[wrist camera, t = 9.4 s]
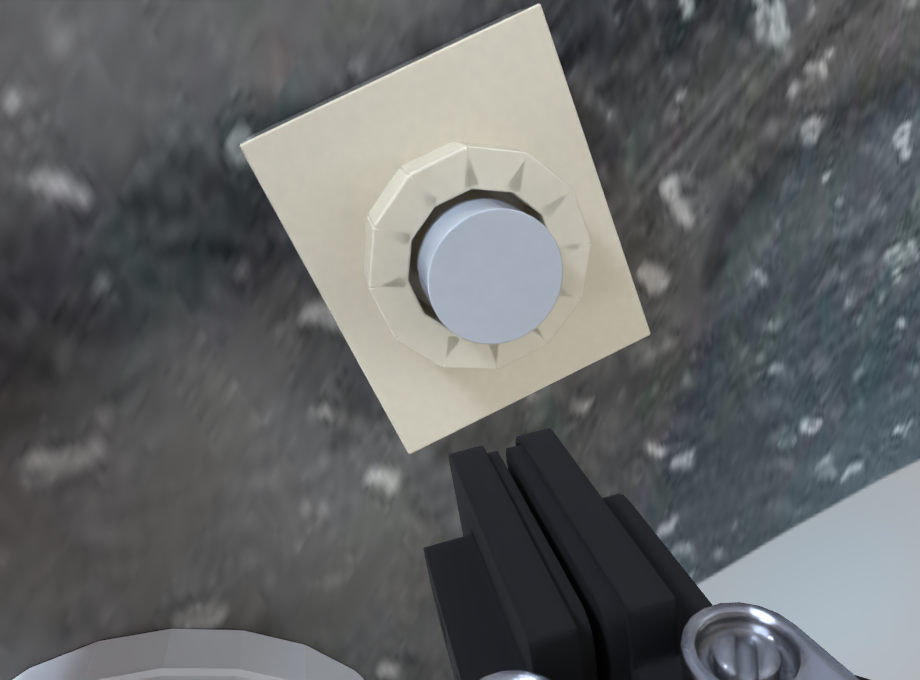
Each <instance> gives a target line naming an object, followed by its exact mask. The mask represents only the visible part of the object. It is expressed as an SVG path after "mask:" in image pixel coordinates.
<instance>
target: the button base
mask: <svg viewBox="0 0 920 680" xmlns="http://www.w3.org/2000/svg"><path fill="white" fill-rule="evenodd" d="M240 149H241V150H242V152H243V154H244V156H245V158H246V159H247V161H248V163H249V165H250V167H251V169H252V170H253V172H254V174H255V176H256V178H257V179H258V181H259V183H260V185H261V187H262V189H263V190H264V192H265V194H266V196H267V198H268V200H269V201H270V203H271V205H272V207H273V209H274V210H275V212H276V214H277V216H278V218H279V220H280V221H281V223H282V225H283V227H284V229H285V230H286V232H287V234H288V236H289V238H290V240H291V241H292V243H293V245H294V247H295V249H296V250H297V252H298V254H299V256H300V258H301V260H302V261H303V263H304V265H305V267H306V269H307V270H308V272H309V274H310V276H311V278H312V280H313V281H314V283H315V285H316V287H317V289H318V290H319V292H320V294H321V296H322V298H323V300H324V301H325V303H326V305H327V307H328V309H329V310H330V312H331V314H332V316H333V318H334V320H335V321H336V323H337V325H338V327H339V329H340V330H341V332H342V334H343V336H344V338H345V340H346V341H347V343H348V345H349V347H350V349H351V350H352V352H353V354H354V356H355V358H356V360H357V361H358V363H359V365H360V367H361V369H362V370H363V372H364V374H365V376H366V378H367V380H368V381H369V383H370V385H371V387H372V389H373V390H374V392H375V394H376V396H377V398H378V400H379V401H380V403H381V405H382V407H383V409H384V410H385V412H386V414H387V416H388V418H389V420H390V421H391V423H392V425H393V427H394V429H395V430H396V432H397V434H398V436H399V438H400V440H401V441H402V443H403V445H404V447H405V449H406V450H407V452H408V453H409V454H411V453H413V452H415V451H417V450H419V449H421V448H423V447H425V446H427V445H430V444H432V443H434V442H436V441H438V440H440V439H442V438H444V437H446V436H448V435H450V434H452V433H454V432H456V431H458V430H460V429H462V428H464V427H466V426H468V425H470V424H472V423H474V422H476V421H478V420H480V419H482V418H484V417H486V416H488V415H490V414H492V413H494V412H496V411H498V410H500V409H502V408H504V407H506V406H508V405H510V404H512V403H514V402H516V401H518V400H520V399H522V398H524V397H526V396H528V395H530V394H532V393H534V392H536V391H538V390H540V389H542V388H544V387H546V386H548V385H550V384H552V383H554V382H556V381H558V380H560V379H562V378H564V377H566V376H568V375H570V374H572V373H574V372H576V371H578V370H580V369H582V368H584V367H586V366H588V365H590V364H592V363H594V362H596V361H598V360H600V359H602V358H604V357H606V356H608V355H610V354H612V353H614V352H616V351H618V350H620V349H622V348H624V347H626V346H628V345H630V344H632V343H634V342H636V341H638V340H640V339H642V338H644V337H646V336H648V335H650V330H649V327H648V324H647V321H646V318H645V315H644V312H643V309H642V306H641V303H640V300H639V297H638V294H637V291H636V288H635V285H634V282H633V279H632V276H631V273H630V270H629V267H628V264H627V261H626V258H625V255H624V252H623V249H622V246H621V243H620V240H619V237H618V234H617V231H616V228H615V225H614V222H613V219H612V216H611V213H610V210H609V207H608V204H607V201H606V198H605V195H604V192H603V189H602V186H601V183H600V180H599V177H598V174H597V171H596V168H595V165H594V162H593V159H592V156H591V153H590V150H589V147H588V144H587V141H586V138H585V135H584V132H583V129H582V126H581V123H580V120H579V117H578V114H577V111H576V108H575V105H574V102H573V99H572V97H571V94H570V91H569V88H568V85H567V82H566V79H565V76H564V73H563V70H562V67H561V64H560V61H559V58H558V55H557V52H556V49H555V46H554V43H553V40H552V37H551V34H550V31H549V28H548V25H547V22H546V19H545V16H544V13H543V10H542V7H541V5H540V4H535V5H533V6H530V7H527V8H524V9H521V10H518V11H515V12H512V13H510V14H508V15H505V16H503V17H501V18H499V19H497V20H495V21H493V22H491V23H488V24H486V25H484V26H482V27H480V28H478V29H476V30H474V31H471V32H469V33H467V34H465V35H463V36H461V37H459V38H457V39H454V40H452V41H450V42H448V43H446V44H444V45H442V46H440V47H438V48H435V49H433V50H431V51H429V52H427V53H425V54H423V55H421V56H418V57H416V58H414V59H412V60H410V61H408V62H406V63H404V64H401V65H399V66H397V67H395V68H393V69H391V70H389V71H387V72H384V73H382V74H380V75H378V76H376V77H374V78H372V79H370V80H367V81H365V82H363V83H361V84H359V85H357V86H355V87H353V88H351V89H348V90H346V91H344V92H342V93H340V94H338V95H336V96H334V97H331V98H329V99H327V100H325V101H323V102H321V103H319V104H317V105H314V106H312V107H310V108H308V109H306V110H304V111H302V112H300V113H297V114H295V115H293V116H291V117H289V118H287V119H285V120H283V121H281V122H278V123H276V124H274V125H272V126H270V127H268V128H266V129H264V130H261V131H259V132H257V133H255V134H253V135H251V136H249V137H247V138H246V139H245V140H244V141H243V142H242V143H241V144H240ZM472 198H494V199H498V200H502V201H505V202H507V203H509V204H511V205H513V206H515V207H517V208H518V209H520V210H522V211H524V212H525V213H527V214H529V215H531V216H532V217H534V218H535V219H537V220H538V221H540V222H541V223H542V224H543V225H544V226H545V227H546V228H547V229H548V230H549V231H550V233H551V234H552V236H553V237H554V239H555V240H556V243H557V245H558V247H559V250H560V253H561V256H562V263H563V279H562V285H561V290H560V293H559V296H558V299H557V301H556V303H555V305H554V307H553V308H552V310H551V311H550V313H549V314H548V316H547V317H546V318H545V319H544V320H543V322H541V323H540V324H539V325H538V326H537V327H536V328H535V329H533V330H532V331H531V332H529V333H528V334H526V335H524V336H522V337H520V338H518V339H516V340H513V341H510V342H506V343H500V344H479V343H475V342H471V341H468V340H465V339H463V338H461V337H459V336H457V335H456V334H454V333H453V332H452V331H450V330H449V329H448V328H447V327H446V326H445V325H444V324H443V323H442V322H441V321H440V319H439V318H438V317H437V315H436V313H435V311H434V310H433V308H432V306H431V305H430V303H429V301H428V299H427V298H426V296H425V294H424V292H423V291H422V288H421V286H420V283H419V279H418V275H417V255H418V249H419V246H420V242H421V240H422V238H423V236H424V233H425V232H426V230H427V228H428V227H429V226H430V224H431V223H432V222H433V220H434V219H435V218H436V217H437V216H438V215H439V214H440V213H442V212H443V211H444V210H446V209H447V208H449V207H451V206H452V205H454V204H456V203H459V202H461V201H464V200H468V199H472Z"/></svg>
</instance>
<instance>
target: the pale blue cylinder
mask: <svg viewBox="0 0 920 680" xmlns="http://www.w3.org/2000/svg"><path fill="white" fill-rule="evenodd" d="M417 275H418V279H419V283H420V286H421V288H422V291H423V292H424V294H425V296H426V298H427V299H428V301H429V303H430V305H431V306H432V308H433V310H434V311H435V313H436V315H437V317H438V318H439V319H440V321H441V322H442V323H443V324H444V325H445V326H446V327H447V328H448V329H449V330H450V331H452V332H453V333H454V334H456V335H457V336H459V337H461V338H463V339H465V340H468V341H471V342H475V343H479V344H500V343H506V342H510V341H513V340H516V339H518V338H520V337H522V336H524V335H526V334H528V333H529V332H531V331H532V330H533V329H535V328H536V327H537V326H538V325H539V324H540V323H541V322H543V320H544V319H545V318H546V317H547V316H548V314H549V313H550V311H551V310H552V308H553V307H554V305H555V303H556V301H557V299H558V296H559V293H560V290H561V285H562V279H563V263H562V256H561V253H560V250H559V247H558V245H557V243H556V240H555V239H554V237H553V236H552V234H551V233H550V231H549V230H548V229H547V228H546V227H545V226H544V225H543V224H542V223H541V222H540V221H538V220H537V219H535V218H534V217H532V216H531V215H529V214H527V213H525V212H524V211H522V210H520V209H518V208H517V207H515V206H513V205H511V204H509V203H507V202H505V201H502V200H498V199H494V198H472V199H468V200H464V201H461V202H459V203H456V204H454V205H452V206H451V207H449V208H447V209H446V210H444V211H443V212H442V213H440V214H439V215H438V216H437V217H436V218H435V219H434V220H433V222H432V223H431V224H430V226H429V227H428V228H427V230H426V232H425V233H424V236H423V238H422V240H421V242H420V246H419V249H418V255H417Z"/></svg>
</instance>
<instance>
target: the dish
mask: <svg viewBox="0 0 920 680" xmlns="http://www.w3.org/2000/svg"><path fill="white" fill-rule="evenodd" d="M12 680H364V679H363V678H362V677H361V676H360V675H359V674H358V673H357V672H356V671H355V670H353V669H351V668H349V667H347V666H345V665H343V664H341V663H339V662H337V661H335V660H334V659H332V658H330V657H328V656H326V655H324V654H322V653H320V652H318V651H316V650H314V649H312V648H310V647H309V646H307V645H304V644H299V643H295V642H291V641H287V640H282V639H278V638H274V637H270V636H265V635H261V634H257V633H253V632H248V631H244V630H212V629H166V630H161V631H155V632H149V633H143V634H137V635H131V636H126V637H120V638H114V639H108V640H102V641H97V642H95V643H92V644H90V645H87V646H85V647H82V648H80V649H77V650H74V651H72V652H69V653H67V654H64V655H62V656H59V657H57V658H54V659H52V660H49V661H46V662H44V663H41V664H39V665H36V666H34V667H31V668H29V669H27V670H26V671H24V672H23V673H21V674H20V675H18V676H17V677H15V678H14V679H12Z"/></svg>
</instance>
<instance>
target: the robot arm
mask: <svg viewBox="0 0 920 680" xmlns="http://www.w3.org/2000/svg"><path fill="white" fill-rule="evenodd" d="M506 458H507V465H508V469H507V467H506V465H505V463H504V462H503V460H502V458H501V456H500V454H499V453H498V451H495V452H491V453H486V451H485V449H484V447H483V446H478V447H474V448H470V449H466V450H462V451H458V452H455V453H451V454H449V461H450V467H451V472H452V478H453V483H454V489H455V494H456V499H457V505H458V510H459V515H460V521H461V526H462V531H463V537H461V538H457V539H454V540H450V541H446V542H443V543H439V544H436V545H432V546H428V547H425V548H424V554H425V559H426V564H427V568H428V573H429V577H430V582H431V587H432V591H433V596H434V600H435V604H436V608H437V612H438V617H439V621H440V625H441V629H442V633H443V636H444V640H445V644H446V648H447V651H448V655H449V659H450V663H451V666H452V670H453V674H454V677H455V680H869V679H866V678H863V677H859V676H856V675H853V674H852V673H851V672H850V671H849V670H848V669H846V668H845V667H844V666H843V665H842V664H841V663H839V662H838V661H837V660H836V659H835V658H834V657H832V656H831V655H830V654H829V653H828V652H827V651H825V650H824V649H823V648H822V647H821V646H819V645H818V644H817V643H816V642H815V641H814V640H812V639H811V638H810V637H809V636H808V635H806V634H805V633H804V632H803V631H802V630H801V629H800V628H798V627H797V626H796V625H795V624H793V623H792V622H790V621H789V620H787V619H786V618H784V617H783V616H781V615H780V614H778V613H776V612H773V611H770V610H768V609H766V608H763V607H760V606H757V605H751V604H745V603H720V604H717V605H714V606H712V604H711V603H710V602H709V600H708V599H707V598H706V597H705V595H704V594H703V593H702V592H701V590H700V589H699V588H698V586H697V585H696V584H695V583H694V581H693V580H692V579H691V578H690V576H689V575H688V574H687V573H686V571H685V570H684V569H683V568H682V566H681V565H680V564H679V563H678V561H677V560H676V559H675V558H674V556H673V555H672V554H671V553H670V551H669V550H668V549H667V548H666V546H665V545H664V544H663V543H662V541H661V540H660V539H659V538H658V536H657V535H656V534H655V533H654V531H653V530H652V529H651V527H650V526H649V525H648V524H647V522H646V521H645V520H644V519H643V517H642V516H641V515H640V514H639V512H638V511H637V510H636V509H635V507H634V506H633V505H632V504H631V502H630V501H629V500H628V499H627V498H626V497H625V496H624V495H621V494H616V495H612V496H609V497H605V498H602V497H601V496H600V495H599V493H598V492H597V491H596V489H595V488H594V487H593V485H592V484H591V483H590V481H589V480H588V478H587V477H586V476H585V474H584V473H583V472H582V470H581V469H580V468H579V466H578V465H577V464H576V462H575V461H574V459H573V458H572V457H571V455H570V454H569V453H568V451H567V450H566V449H565V447H564V446H563V445H562V443H561V442H560V440H559V439H558V438H557V436H556V435H555V434H554V432H553V431H552V430H551V429H549V428H548V429H544V430H540V431H536V432H532V433H528V434H524V435H521V436H517V437H516V446H514V447H510V448H507V449H506Z"/></svg>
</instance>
